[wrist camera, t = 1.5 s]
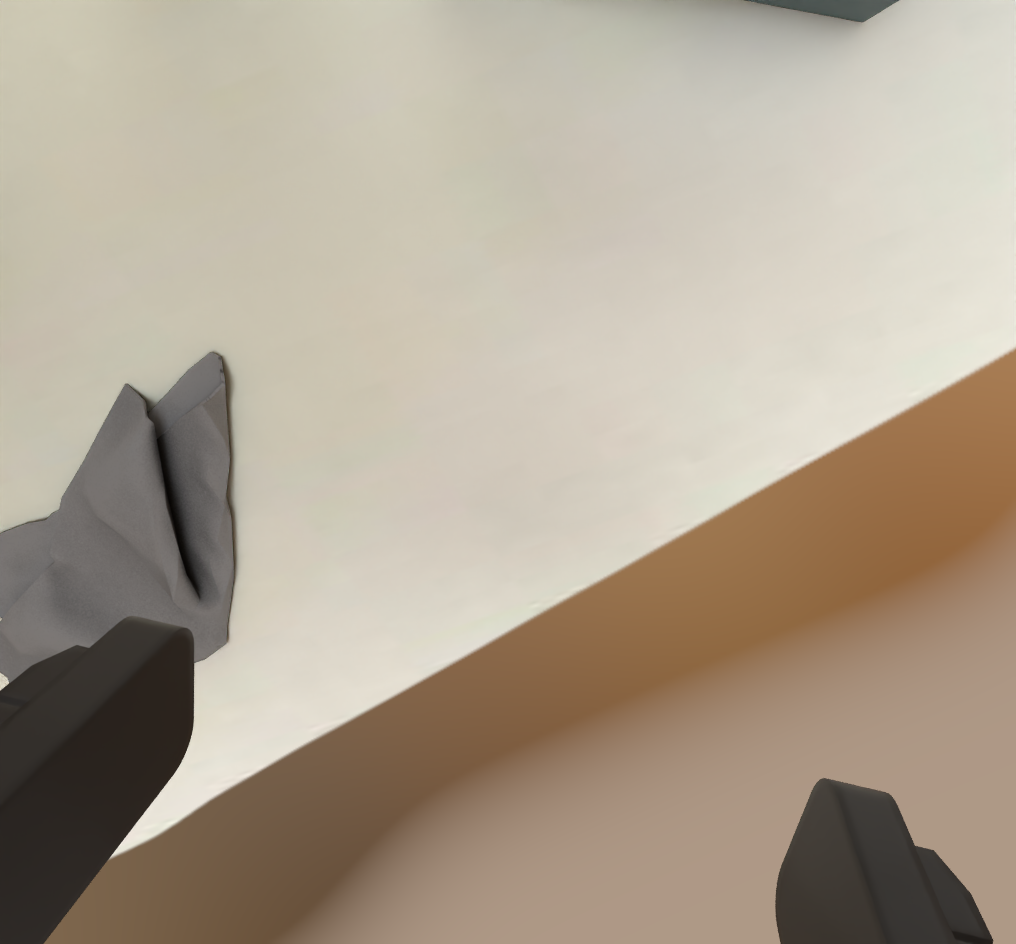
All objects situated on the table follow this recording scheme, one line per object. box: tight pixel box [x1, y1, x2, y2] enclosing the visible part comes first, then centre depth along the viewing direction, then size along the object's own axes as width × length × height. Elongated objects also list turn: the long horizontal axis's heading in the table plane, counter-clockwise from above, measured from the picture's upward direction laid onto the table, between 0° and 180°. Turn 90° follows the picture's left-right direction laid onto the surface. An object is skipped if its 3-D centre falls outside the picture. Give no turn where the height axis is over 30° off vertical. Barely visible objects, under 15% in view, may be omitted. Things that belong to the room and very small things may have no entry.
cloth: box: [0, 352, 234, 683], centre depth 41 cm, size 26×14×2 cm, turn 129°
